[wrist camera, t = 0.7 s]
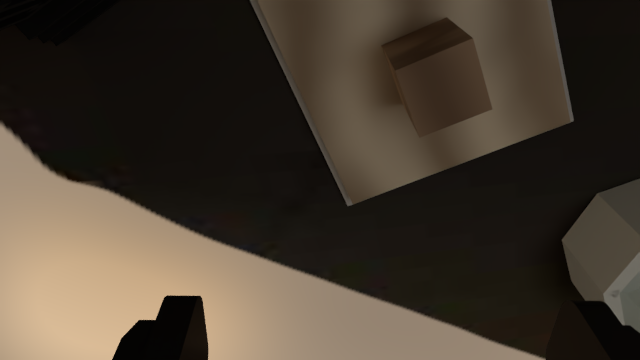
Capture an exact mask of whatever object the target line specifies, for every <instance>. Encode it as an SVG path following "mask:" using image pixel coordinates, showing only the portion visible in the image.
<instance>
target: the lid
mask: <svg viewBox="0 0 640 360" xmlns="http://www.w3.org/2000/svg"><path fill="white" fill-rule="evenodd" d="M257 1H258V3H259V5H260V8H261V10H262V12H263V14H264V16H265V18H266V20H267V23H268V25H269V27H270V29H271V31H272V33H273V35H274V37H275V40H276V42H277V44H278V46H279V48H280V50H281V52H282V54H283V57H284V59H285V61H286V63H287V65H288V67H289V69H290V71H291V74H292V76H293V78H294V80H295V82H296V84H297V86H298V89H299V91H300V93H301V95H302V97H303V99H304V101H305V103H306V106H307V108H308V110H309V112H310V114H311V116H312V118H313V120H314V123H315V125H316V127H317V129H318V131H319V133H320V135H321V138H322V140H323V142H324V144H325V146H326V148H327V150H328V152H329V155H330V157H331V159H332V161H333V163H334V165H335V167H336V169H337V172H338V174H339V176H340V178H341V180H342V182H343V184H344V187H345V189H346V191H347V193H348V195H349V197H350V199H351V201H352V204H355V203H358V202H360V201H363V200H365V199H368V198H371V197H373V196H376V195H379V194H381V193H384V192H387V191H389V190H392V189H395V188H397V187H400V186H403V185H405V184H408V183H411V182H413V181H416V180H418V179H421V178H424V177H426V176H429V175H432V174H434V173H437V172H440V171H442V170H445V169H448V168H450V167H453V166H456V165H458V164H461V163H463V162H466V161H469V160H471V159H474V158H477V157H479V156H482V155H485V154H487V153H490V152H493V151H495V150H498V149H501V148H503V147H506V146H509V145H511V144H514V143H516V142H519V141H522V140H524V139H527V138H530V137H532V136H535V135H538V134H540V133H543V132H546V131H548V130H551V129H554V128H556V127H559V126H562V125H564V124H567V123H569V122H570V116H569V111H568V106H567V101H566V96H565V91H564V86H563V80H562V75H561V70H560V65H559V60H558V55H557V49H556V44H555V39H554V34H553V29H552V24H551V18H550V13H549V8H548V3H547V0H257Z"/></svg>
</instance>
